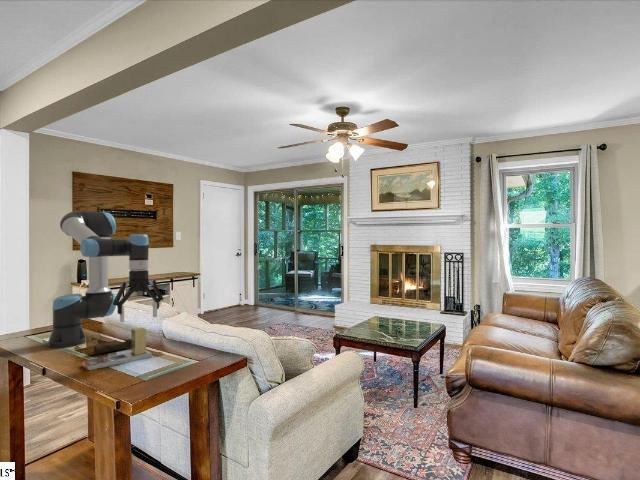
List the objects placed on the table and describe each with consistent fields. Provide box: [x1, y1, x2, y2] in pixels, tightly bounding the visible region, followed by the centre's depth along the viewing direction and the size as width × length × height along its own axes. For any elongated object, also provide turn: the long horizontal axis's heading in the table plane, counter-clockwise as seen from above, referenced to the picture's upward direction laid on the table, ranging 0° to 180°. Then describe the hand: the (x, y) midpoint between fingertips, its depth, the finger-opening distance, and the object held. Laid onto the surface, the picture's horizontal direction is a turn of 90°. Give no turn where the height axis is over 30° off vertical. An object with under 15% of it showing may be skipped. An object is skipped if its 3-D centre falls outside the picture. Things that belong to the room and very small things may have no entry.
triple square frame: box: [82, 349, 153, 371], centre depth 155 cm, size 8×24×2 cm, turn 137°
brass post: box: [130, 327, 147, 356], centre depth 161 cm, size 4×4×12 cm
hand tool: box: [93, 338, 131, 356], centre depth 170 cm, size 19×4×5 cm, turn 130°
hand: (139, 319), depth 161 cm, fingers open, 13 cm apart
